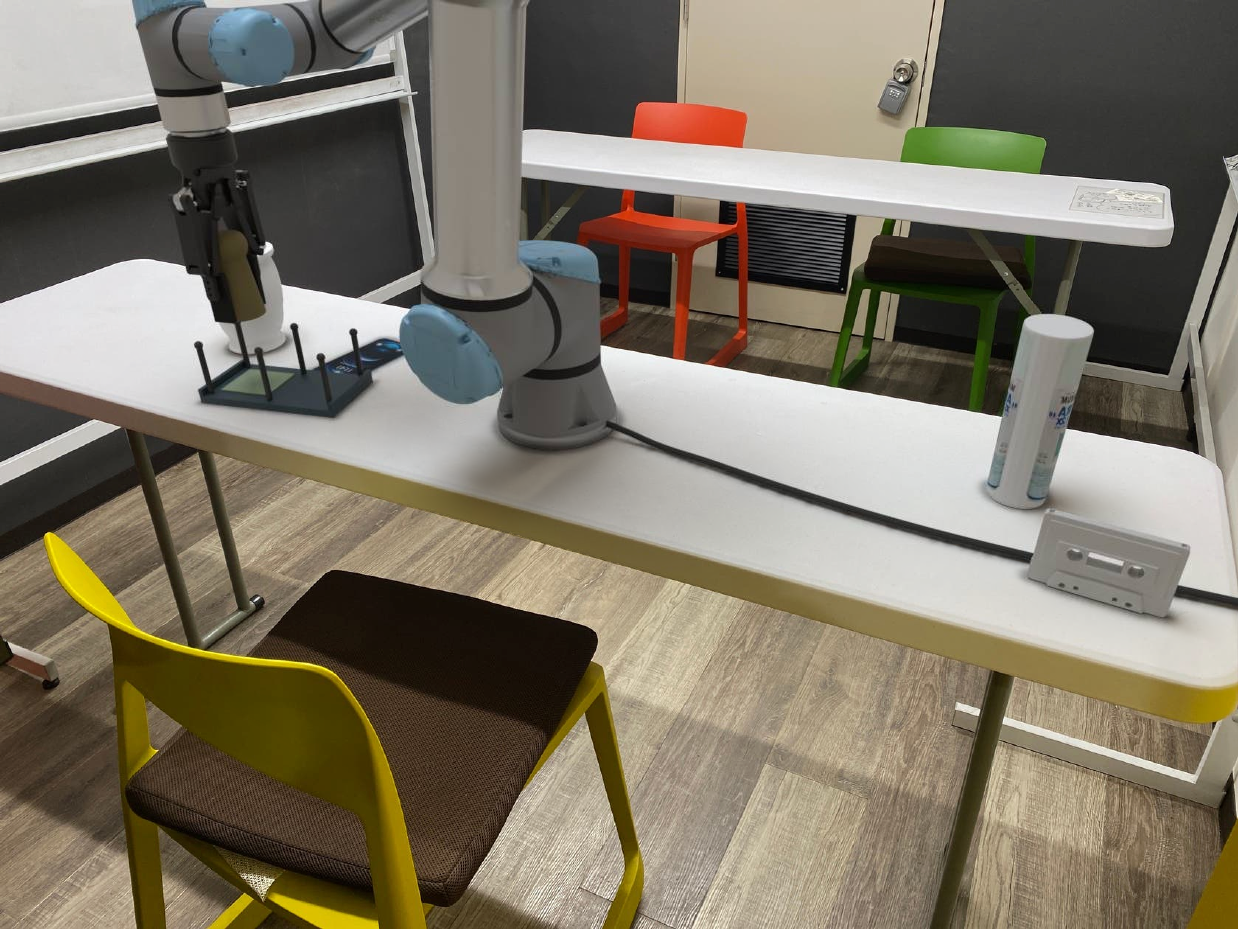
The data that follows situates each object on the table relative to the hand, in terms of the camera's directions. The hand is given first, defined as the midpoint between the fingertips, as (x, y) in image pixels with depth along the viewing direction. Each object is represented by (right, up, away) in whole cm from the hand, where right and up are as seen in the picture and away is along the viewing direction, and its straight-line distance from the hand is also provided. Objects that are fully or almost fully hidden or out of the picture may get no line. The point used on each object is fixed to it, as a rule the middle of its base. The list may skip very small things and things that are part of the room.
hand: (241, 312), depth 120 cm
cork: (0, 0, 0) cm, 0 cm away
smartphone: (+13, -5, +14) cm, 20 cm away
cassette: (+95, -33, -35) cm, 107 cm away
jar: (-6, -2, +20) cm, 20 cm away
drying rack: (+5, -10, +5) cm, 12 cm away
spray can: (+95, -24, -19) cm, 99 cm away
